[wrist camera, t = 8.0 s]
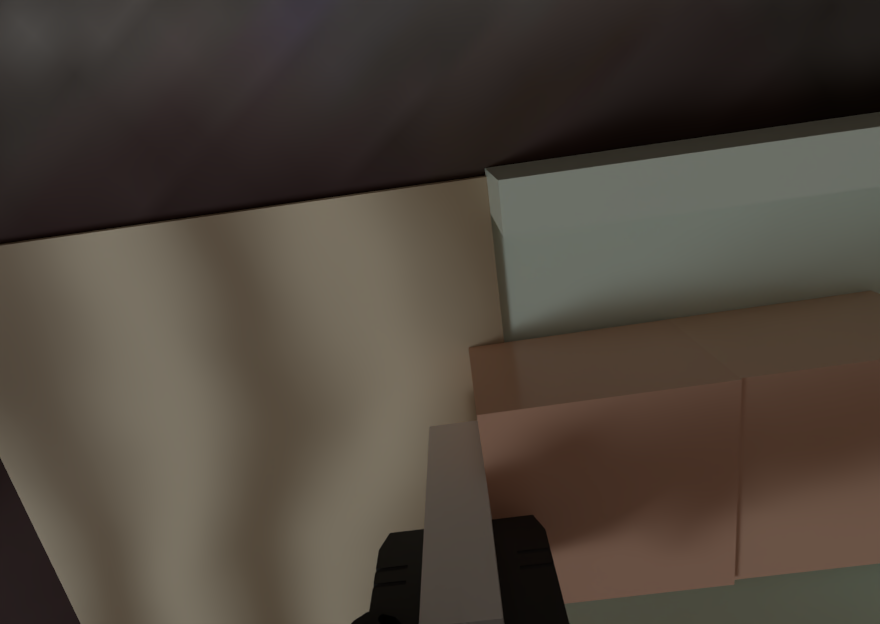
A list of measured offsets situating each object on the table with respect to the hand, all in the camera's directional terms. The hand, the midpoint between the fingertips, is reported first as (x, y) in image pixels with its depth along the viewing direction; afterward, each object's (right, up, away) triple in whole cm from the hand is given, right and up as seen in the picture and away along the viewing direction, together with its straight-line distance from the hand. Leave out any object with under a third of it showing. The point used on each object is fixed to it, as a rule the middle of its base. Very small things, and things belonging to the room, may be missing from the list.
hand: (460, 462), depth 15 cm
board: (-7, 0, +2) cm, 7 cm away
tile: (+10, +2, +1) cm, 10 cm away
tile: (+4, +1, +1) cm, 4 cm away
